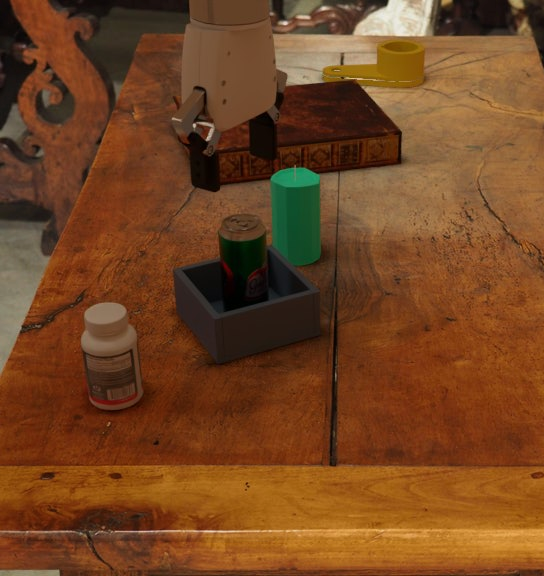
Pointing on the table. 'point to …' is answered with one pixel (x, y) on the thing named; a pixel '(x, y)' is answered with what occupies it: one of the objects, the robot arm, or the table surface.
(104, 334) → the pill bottle
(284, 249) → the candle
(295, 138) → the book
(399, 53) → the crank
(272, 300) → the bin
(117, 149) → the table surface
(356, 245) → the table surface
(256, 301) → the soda can
